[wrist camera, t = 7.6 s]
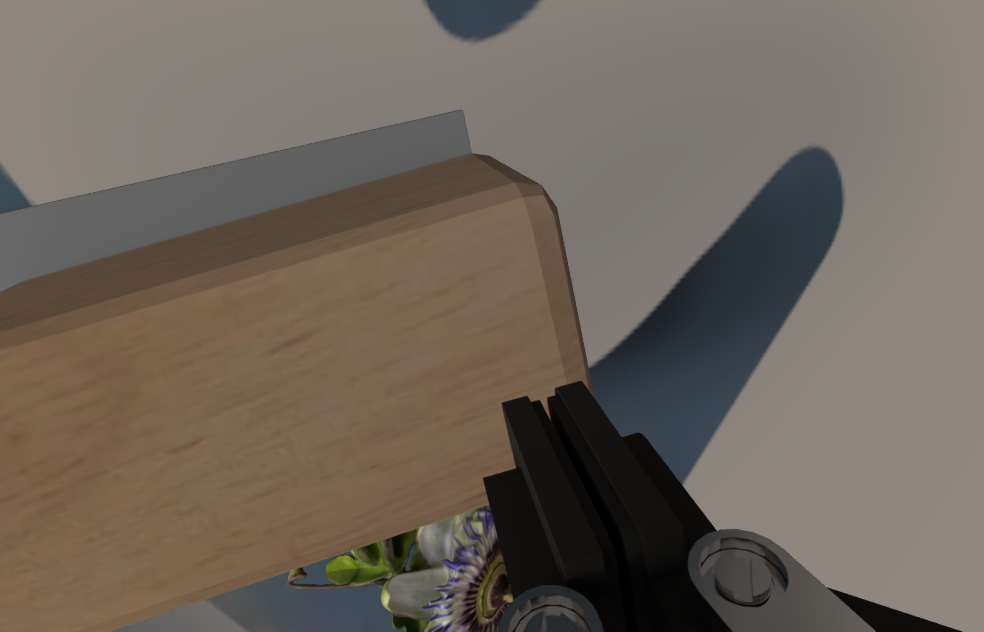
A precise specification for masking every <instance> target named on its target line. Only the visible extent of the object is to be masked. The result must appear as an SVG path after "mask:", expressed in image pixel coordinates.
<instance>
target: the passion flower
mask: <svg viewBox="0 0 984 632" xmlns="http://www.w3.org/2000/svg"><path fill="white" fill-rule="evenodd" d="M415 542H416V549H415V552H414V554H413V556H412V559H411V562H410V565H409V568H408V571H405V565H406V563H407V561H408V557H409V553H410V550H411V547H412V544H414V543H415ZM350 552H351V554H352V555H353V556H354V557H355V558H354V557H353V556H351V555H338V556H337V557H335V558H333V559H331V560H330V562H329V563H328V564H327V567H326V575H327V577H328V579H329V580H330V581H332V582H334V583H336V584H337V585H333V584H326V585H315V584H311V585H307V584H302V585H300V584H293V582H292V581H294V580H297V579H301V578H305V577H306V576H307V574H306V573H305V572H304V571H303V568H302V567H301V568H298V569H295V570H292V571H290V575H289V578H288V582H287V585H288V586H291V587H294V588H305V589H334V588H341V587H342V588H353V587H365V586H369V585H376V586H378V587H381V588H383V589H382V594H381V600H382V604H383V606H384V607H385V608H386V609H387V611H388V612H390V613H392V623H393V628H394V630H399V629H401V628H402V629H403V631H404V632H497V631H498V624H499V622H500V620H501V618H502V615H503V613H504V611H505V609H506V608H507V607H508V606H509V605H510V604H511V602H512V601H513V596H512V592H511V588H510V584H509V580H508V576H507V573H506V569H505V565H504V561H503V557H502V553H501V549H500V545H499V541H498V537H497V533H496V529H495V525H494V521H493V517H492V513H491V509H490V505H486V506H483V507H480V508H477V509H474V510H471V511H468V512H465V513H462V514H459V515H456V516H453V517H450V518H447V519H444V520H441V521H438V522H435V523H432V524H429V525H426V526H423V527H420V528H417V529H414V530H411V531H408V532H405V533H402V534H399V535H396V536H393V537H390V538H387V539H384V540H381V541H379V542H376V543H373V544H370V545H367V546H364V547H361V548H358V549H355V550H352V551H350Z"/></svg>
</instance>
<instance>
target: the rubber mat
mask: <svg viewBox="0 0 984 632" xmlns="http://www.w3.org/2000/svg"><path fill="white" fill-rule="evenodd" d="M470 153H471V147H470V142H469V138H468V133H467V128H466V123H465V118H464V114H463V110H457V111H453V112H448V113H444V114H439V115H435V116H431V117H426V118H422V119H418V120H413V121H408V122H404V123H400V124H395V125H391V126H386V127H382V128H377V129H373V130H369V131H364V132H360V133H355V134H351V135H347V136H342V137H338V138H333V139H329V140H324V141H320V142H315V143H311V144H306V145H302V146H298V147H293V148H289V149H284V150H280V151H275V152H271V153H267V154H262V155H258V156H253V157H249V158H244V159H240V160H236V161H232V162H227V163H222V164H218V165H214V166H209V167H204V168H201V169H196V170H191V171H187V172H182V173H178V174H173V175H169V176H165V177H160V178H156V179H151V180H147V181H142V182H138V183H134V184H129V185H125V186H121V187H116V188H112V189H107V190H103V191H98V192H94V193H89V194H85V195H80V196H76V197H71V198H67V199H63V200H58V201H54V202H49V203H45V204H40V205H36V206H32V207H27V208H23V209H18V210H14V211H9V212H5V213H0V292H2V291H4V290H5V289H7V288H9V287H11V286H13V285H15V284H17V283H19V282H22V281H25V280H29V279H32V278H36V277H39V276H43V275H46V274H50V273H53V272H57V271H60V270H64V269H67V268H71V267H74V266H78V265H81V264H85V263H88V262H92V261H95V260H99V259H102V258H106V257H109V256H113V255H116V254H120V253H123V252H127V251H130V250H134V249H137V248H141V247H144V246H148V245H151V244H155V243H158V242H162V241H165V240H169V239H172V238H176V237H179V236H183V235H186V234H190V233H193V232H197V231H200V230H204V229H207V228H211V227H214V226H218V225H222V224H225V223H229V222H232V221H236V220H239V219H243V218H246V217H250V216H253V215H257V214H260V213H264V212H267V211H271V210H274V209H278V208H281V207H285V206H288V205H292V204H295V203H299V202H302V201H306V200H309V199H313V198H316V197H320V196H323V195H327V194H330V193H334V192H337V191H341V190H344V189H348V188H351V187H355V186H358V185H362V184H365V183H369V182H372V181H376V180H379V179H383V178H386V177H390V176H393V175H397V174H400V173H404V172H407V171H411V170H414V169H418V168H421V167H425V166H428V165H432V164H435V163H439V162H442V161H446V160H449V159H453V158H456V157H460V156H463V155H467V154H470Z"/></svg>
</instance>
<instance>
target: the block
mask: <svg viewBox="0 0 984 632" xmlns="http://www.w3.org/2000/svg"><path fill="white" fill-rule="evenodd" d="M577 381H582V382H583V383H584V384H585V385H586V387H587V388H588V390H589V391H590V393H591V394H592V396H593V397H594V393H593V388H592V383H591V378H590V373H589V368H588V363H587V358H586V353H585V348H584V343H583V338H582V333H581V327H580V322H579V318H578V312H577V307H576V302H575V297H574V292H573V287H572V282H571V277H570V272H569V267H568V262H567V257H566V251H565V246H564V241H563V237H562V231H561V226H560V221H559V216H558V211H557V207H556V206H555V204H554V203H553V201H552V200H551V198H550V197H549V195H548V194H547V193H546V191H545V190H544V188H543V187H542V185H540V184H538V183H536V182H535V181H533V180H531V179H529V178H528V177H526V176H524V175H522V174H520V173H519V172H517V171H515V170H513V169H512V168H510V167H508V166H506V165H505V164H503V163H501V162H499V161H498V160H496V159H494V158H492V157H490V156H487V155H479V154H472V153H470V154H467V155H463V156H460V157H456V158H453V159H449V160H446V161H442V162H439V163H435V164H432V165H428V166H425V167H421V168H418V169H414V170H411V171H407V172H404V173H400V174H397V175H393V176H390V177H386V178H383V179H379V180H376V181H372V182H369V183H365V184H362V185H358V186H355V187H351V188H348V189H344V190H341V191H337V192H334V193H330V194H327V195H323V196H320V197H316V198H313V199H309V200H306V201H302V202H299V203H295V204H292V205H288V206H285V207H281V208H278V209H274V210H271V211H267V212H264V213H260V214H257V215H253V216H250V217H246V218H243V219H239V220H236V221H232V222H229V223H225V224H222V225H218V226H214V227H211V228H207V229H204V230H200V231H197V232H193V233H190V234H186V235H183V236H179V237H176V238H172V239H169V240H165V241H162V242H158V243H155V244H151V245H148V246H144V247H141V248H137V249H134V250H130V251H127V252H123V253H120V254H116V255H113V256H109V257H106V258H102V259H99V260H95V261H92V262H88V263H85V264H81V265H78V266H74V267H71V268H67V269H64V270H60V271H57V272H53V273H50V274H46V275H43V276H39V277H36V278H32V279H29V280H25V281H22V282H19V283H17V284H15V285H13V286H11V287H9V288H7V289H5V290H4V291H2V292H0V632H109V631H112V630H115V629H118V628H121V627H124V626H127V625H130V624H133V623H136V622H139V621H142V620H145V619H148V618H151V617H154V616H157V615H160V614H163V613H166V612H169V611H172V610H175V609H178V608H181V607H184V606H187V605H190V604H193V603H196V602H199V601H202V600H205V599H208V598H211V597H214V596H217V595H220V594H223V593H226V592H229V591H232V590H235V589H238V588H241V587H244V586H247V585H250V584H253V583H256V582H259V581H262V580H265V579H268V578H271V577H274V576H277V575H280V574H283V573H286V572H289V571H292V570H295V569H298V568H301V567H304V566H307V565H310V564H313V563H316V562H319V561H322V560H325V559H328V558H331V557H334V556H337V555H340V554H343V553H346V552H349V551H352V550H355V549H358V548H361V547H364V546H367V545H370V544H373V543H376V542H379V541H381V540H384V539H387V538H390V537H393V536H396V535H399V534H402V533H405V532H408V531H411V530H414V529H417V528H420V527H423V526H426V525H429V524H432V523H435V522H438V521H441V520H444V519H447V518H450V517H453V516H456V515H459V514H462V513H465V512H468V511H471V510H474V509H477V508H480V507H483V506H486V505H489V502H488V498H487V494H486V490H485V486H484V482H483V478H484V477H487V476H491V475H494V474H498V473H501V472H504V471H508V470H511V469H515V468H516V466H515V462H514V457H513V453H512V449H511V444H510V440H509V436H508V431H507V427H506V423H505V418H504V414H503V409H502V402H506V401H509V400H513V399H516V398H520V397H524V396H528V397H529V399H530V401H531V402H532V401H536V400H540V401H541V403H542V405H543V407H544V409H545V411H546V413H547V414H548V416H549V418H550V415H549V409H548V404H547V397H550V396H554V395H555V388H556V387H559V386H563V385H567V384H570V383H574V382H577Z"/></svg>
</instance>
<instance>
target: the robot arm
mask: <svg viewBox="0 0 984 632" xmlns="http://www.w3.org/2000/svg"><path fill="white" fill-rule="evenodd" d="M547 404H548V409H549V415H550V418H549V416H548V414H547V413H546V411H545V409H544V407H543V405H542V403H541V401H540V400H536V401H532V402H531V401H530V399H529V397H528V396H524V397H520V398H516V399H513V400H509V401H506V402H502V409H503V414H504V418H505V423H506V427H507V431H508V436H509V440H510V444H511V449H512V453H513V457H514V462H515V466H516V468H515V469H511V470H508V471H504V472H501V473H498V474H494V475H491V476H487V477H484V478H483V482H484V486H485V490H486V494H487V498H488V502H489V505H490V509H491V513H492V517H493V521H494V525H495V529H496V533H497V537H498V541H499V545H500V549H501V553H502V557H503V561H504V565H505V569H506V573H507V576H508V580H509V584H510V588H511V592H512V596H513V601H512V602H511V604H510V605H509V606H508V607H507V608H506V609H505V611H504V613H503V615H502V618H501V620H500V622H499V624H498V631H497V632H962V631H959V630H955V629H953V628H950V627H947V626H943V625H940V624H937V623H935V622H931V621H928V620H925V619H922V618H919V617H916V616H913V615H910V614H907V613H904V612H901V611H898V610H895V609H891V608H888V607H886V606H882V605H879V604H876V603H873V602H870V601H867V600H864V599H861V598H858V597H855V596H852V595H848V594H846V593H843V592H840V591H837V590H834V589H831V588H827V587H825V586H824V585H823V584H822V583H821V582H820V581H819V580H818V579H817V578H816V577H814V576H813V575H812V574H811V573H810V572H809V571H808V570H806V569H805V568H804V567H803V566H802V565H801V564H800V563H799V562H797V561H796V560H795V559H794V558H793V557H792V556H791V555H790V554H789V553H788V552H786V551H785V550H784V549H783V548H781V547H780V546H779V545H777V544H776V543H774V542H773V541H771V540H770V539H768V538H765V537H763V536H761V535H759V534H756V533H753V532H749V531H744V530H739V529H726V530H718V531H717V530H716V529H715V528H714V526H713V525H712V524H711V522H710V521H709V520H708V519H707V517H706V516H705V515H704V513H703V512H702V511H701V509H700V508H699V507H698V505H697V504H696V503H695V501H694V500H693V499H692V498H691V496H690V495H689V494H688V492H687V491H686V490H685V488H684V487H683V486H682V484H681V483H680V482H679V481H678V479H677V478H676V477H675V475H674V474H673V473H672V471H671V470H670V469H669V467H668V466H667V465H666V463H665V462H664V461H663V460H662V458H661V457H660V456H659V454H658V453H657V452H656V450H655V449H654V448H653V446H652V445H651V444H650V443H649V441H648V440H647V439H646V438H645V437H644V435H643V434H641V433H639V432H638V433H635V434H632V435H628V436H625V437H621V436H620V435H619V433H618V432H617V430H616V429H615V427H614V426H613V424H612V423H611V422H610V420H609V419H608V417H607V416H606V414H605V413H604V411H603V410H602V409H601V407H600V406H599V404H598V403H597V401H596V400H595V398H594V397H593V396H592V394H591V393H590V391H589V390H588V388H587V387H586V385H585V384H584V383H583V382H582V381H577V382H574V383H570V384H567V385H563V386H559V387H556V388H555V395H554V396H550V397H547Z"/></svg>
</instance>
